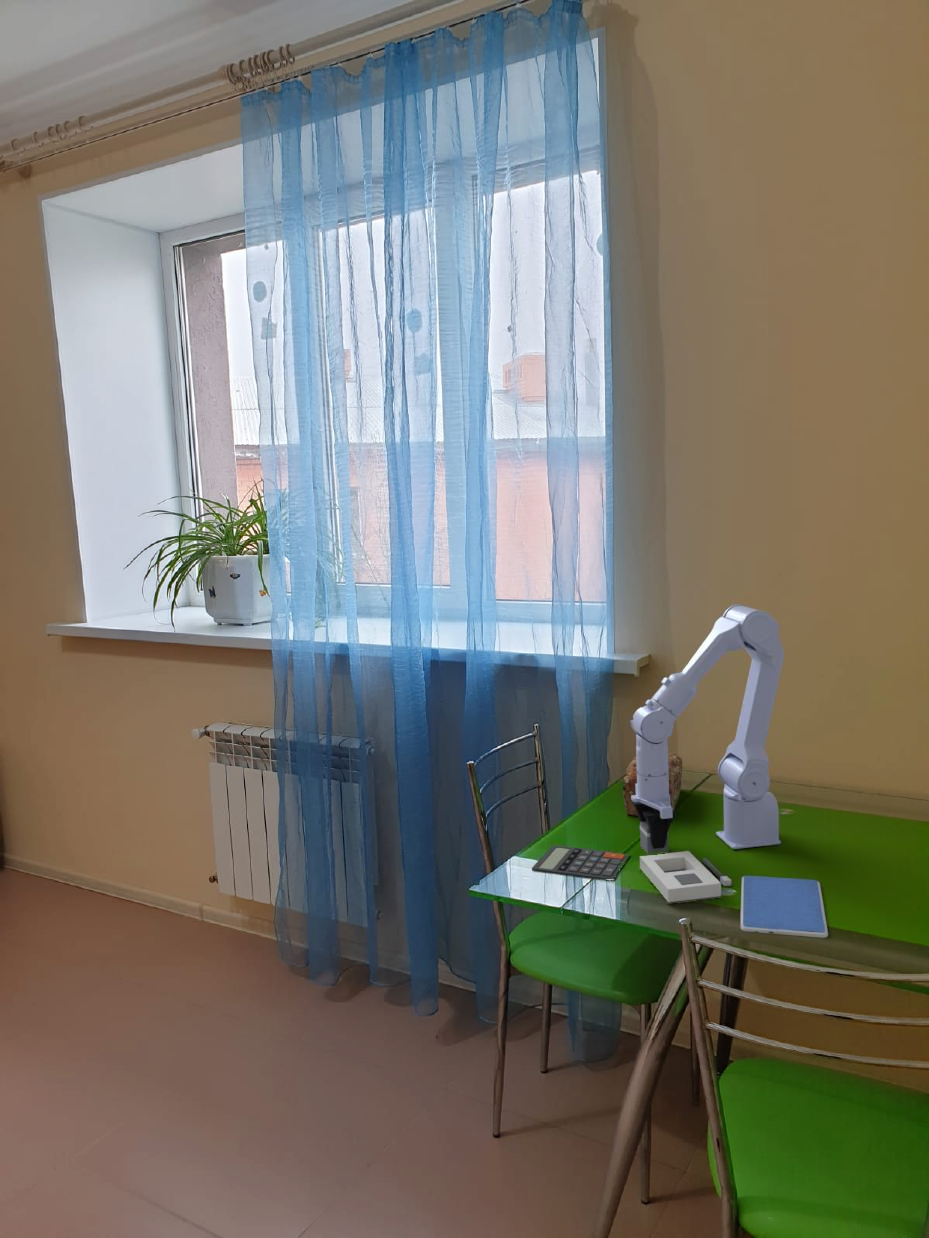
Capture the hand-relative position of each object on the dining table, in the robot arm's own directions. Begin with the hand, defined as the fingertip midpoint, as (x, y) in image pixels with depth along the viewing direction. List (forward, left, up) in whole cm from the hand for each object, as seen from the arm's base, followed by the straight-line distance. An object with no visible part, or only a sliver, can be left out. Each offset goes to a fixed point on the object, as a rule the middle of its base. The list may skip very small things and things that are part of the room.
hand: (654, 842), depth 177 cm
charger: (0, 0, -1) cm, 1 cm away
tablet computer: (-12, +27, -2) cm, 29 cm away
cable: (-7, +12, -1) cm, 14 cm away
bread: (-9, -25, -2) cm, 26 cm away
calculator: (+14, +2, -2) cm, 15 cm away
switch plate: (+1, +15, -1) cm, 15 cm away
